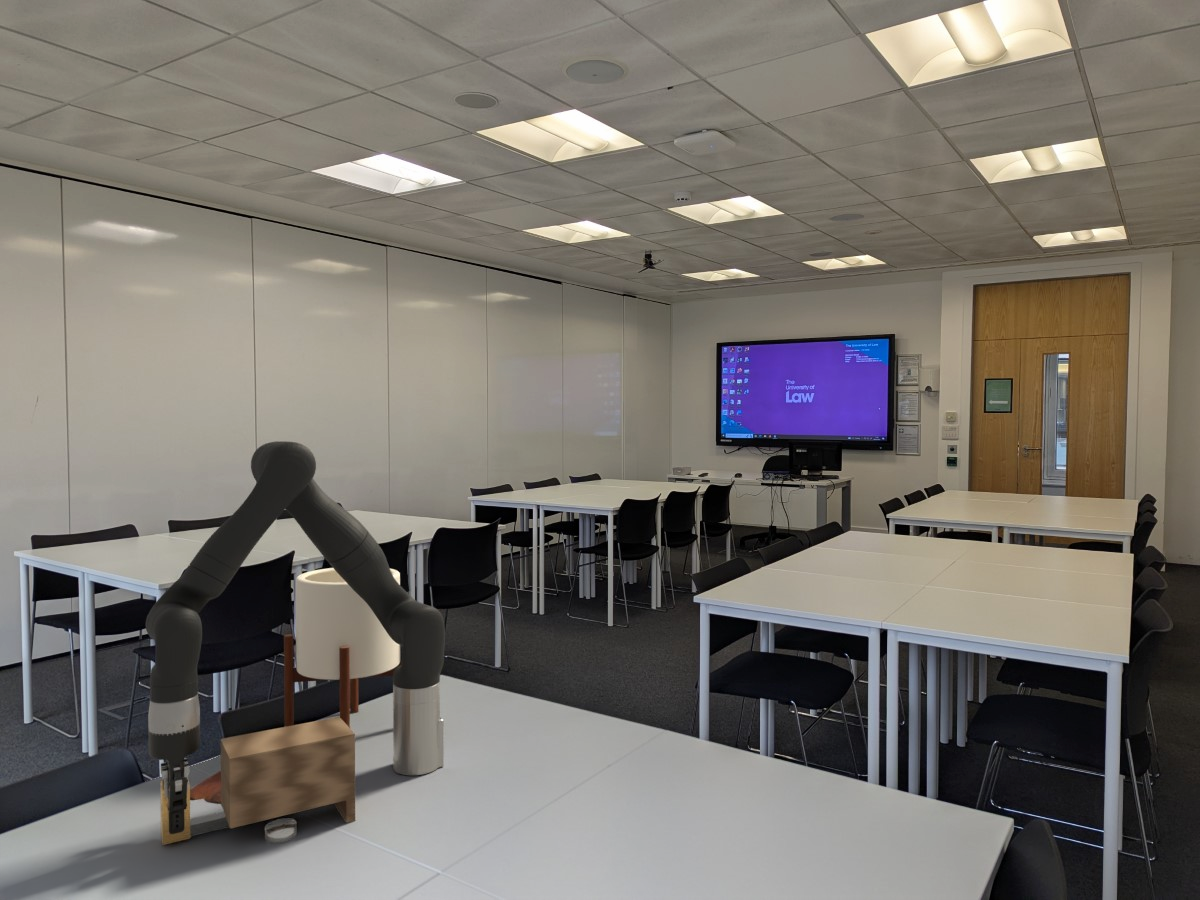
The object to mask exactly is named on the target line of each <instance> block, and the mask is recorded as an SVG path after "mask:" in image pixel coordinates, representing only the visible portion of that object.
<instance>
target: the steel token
mask: <svg viewBox="0 0 1200 900" xmlns="http://www.w3.org/2000/svg"><path fill="white" fill-rule="evenodd" d="M297 826H298V823H297V821H296V819H295V818H289V817H287V818H286V817H284V818H278V819H275V820H272V821H270V822H268V823H267V824H265V826H264V841H265V842H266V843H268V844H273V845H276V844H284V843H286V842H289V841H291V840H293V839H294V838H296V837H297V834H298V832H297V830H298V827H297Z"/></svg>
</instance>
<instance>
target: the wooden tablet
mask: <svg viewBox="0 0 1200 900" xmlns="http://www.w3.org/2000/svg"><path fill="white" fill-rule="evenodd" d="M199 800H204V801H205V802H207V803H211V804H220V805H221V770H220V771H218V772H216V773H214V774H212V775H211V776H209V777H207V778H205V779H204V780H202V781H201V782H199V783H198V784H196V785H195V786H193V787H191V788H190V801H199Z"/></svg>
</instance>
